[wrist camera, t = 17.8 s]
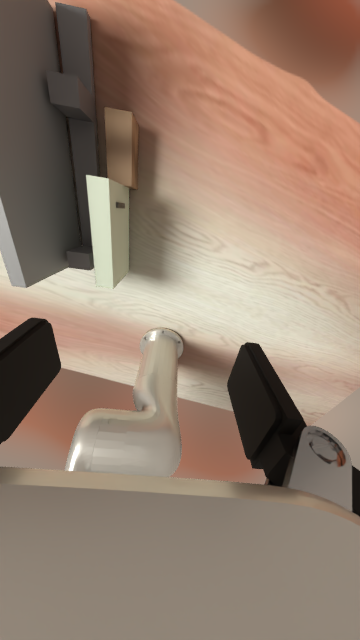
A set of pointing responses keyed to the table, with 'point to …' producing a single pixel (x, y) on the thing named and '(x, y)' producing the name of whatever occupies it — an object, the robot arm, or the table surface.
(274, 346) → the table surface
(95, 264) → the door
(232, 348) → the table surface
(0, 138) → the grey upright panel
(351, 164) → the table surface
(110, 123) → the walnut block
